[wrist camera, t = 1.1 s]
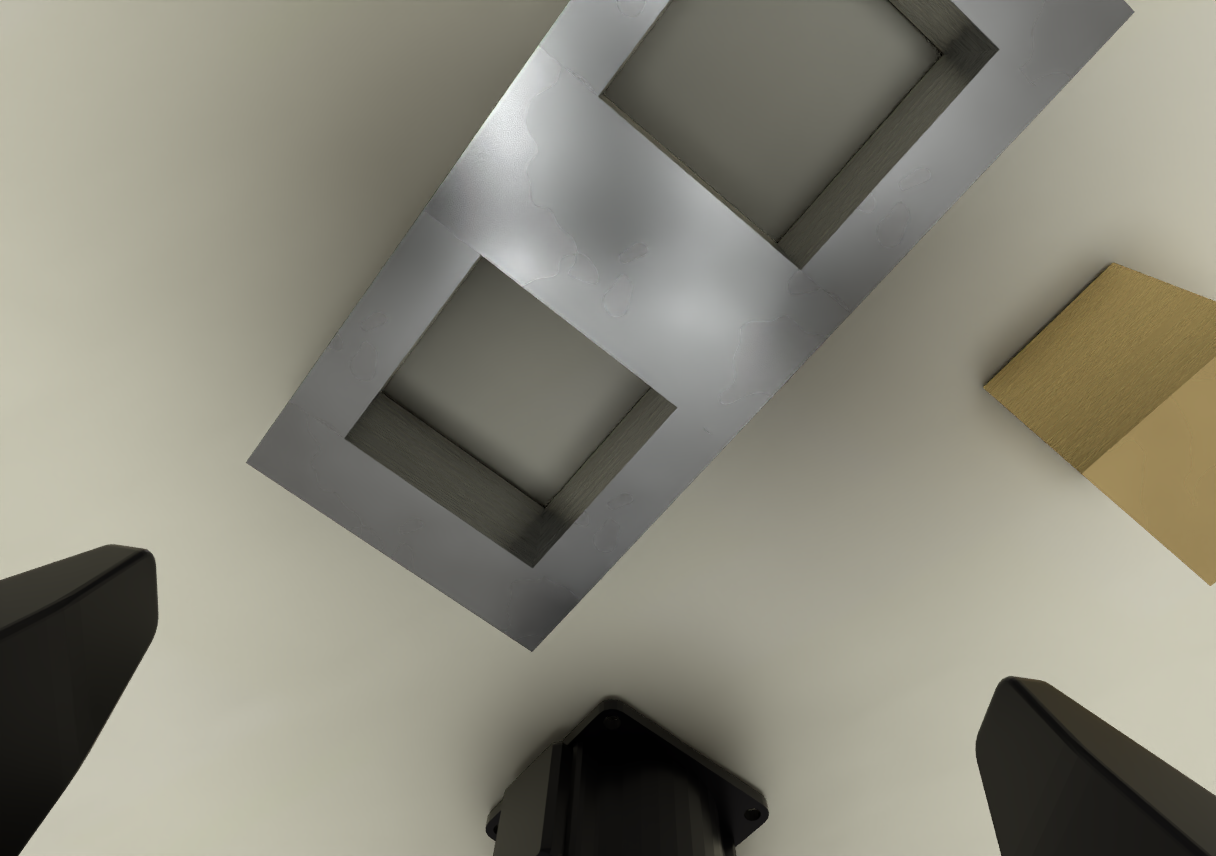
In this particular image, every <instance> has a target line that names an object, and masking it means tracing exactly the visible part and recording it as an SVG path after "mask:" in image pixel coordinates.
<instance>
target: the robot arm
mask: <svg viewBox="0 0 1216 856" xmlns="http://www.w3.org/2000/svg"><path fill="white" fill-rule="evenodd" d="M157 625H158V595H157V575H156V563H155V559H154V556H153V554H152V553H151V552H150V551H148V550H147V549H143V548H136V547H129V546H122V545H116V544H110V545H105V546H102V547H99V548H96V549H93V550H90V551H87V552H84V553H81V554H78V555H75V556H72V557H69V558H66V559H63V560H60V561H57V562H54V563H51V564H48V565H45V566H41V567H38V568H35V569H32V570H29V571H26V572H23V573H20V574H17V575H14V576H11V577H8V578H5V579H2V580H0V856H18V855H19V854H20V853H21V851H22V850H23V848H24V847H25V846H26V844H27V843H28V841H29V840H30V838H31V837H32V836H33V834H34V833H35V831H36V830H37V829H38V827H39V826H40V824H41V823H42V822H43V820H44V819H45V817H46V816H47V815H48V813H49V812H50V810H51V809H52V808H53V806H54V805H55V803H56V802H57V801H58V799H59V798H60V796H61V795H62V793H63V792H64V791H65V789H66V788H67V786H68V785H69V783H70V782H71V780H72V779H73V777H74V776H75V774H76V773H77V771H78V770H79V769H80V767H81V765H82V764H83V762H84V760H85V759H86V757H87V755H88V754H89V752H90V750H91V749H92V747H93V745H94V744H95V742H96V740H97V738H98V736H99V735H100V733H101V731H102V729H103V728H104V726H105V724H106V722H107V720H108V719H109V717H110V715H111V713H112V712H113V710H114V708H115V706H116V704H117V703H118V701H119V699H120V697H121V696H122V694H123V692H124V690H125V688H126V687H127V685H128V683H129V681H130V680H131V678H132V676H133V674H134V672H135V671H136V669H137V667H138V665H139V664H140V662H141V660H142V658H143V656H144V655H145V653H146V651H147V649H148V648H149V646H150V644H151V642H152V640H153V638H154V635H155V633H156V629H157ZM608 716H616V717H618V719H616V720H610V719H607V718H606V717H608ZM976 758H977V763H978V767H979V771H980V775H981V779H982V783H983V786H984V790H985V794H986V798H987V802H988V806H989V810H990V813H991V817H992V821H993V825H994V829H995V833H996V837H997V840H998V844H999V848H1000V852H1001V856H1216V796H1215V795H1214V794H1212V793H1211V792H1209V791H1208V790H1206V789H1205V788H1203V787H1202V786H1200V785H1199V784H1197V783H1196V782H1194V781H1193V780H1191V779H1190V778H1188V777H1187V776H1185V775H1184V774H1182V773H1181V772H1179V771H1178V770H1176V769H1175V768H1174V767H1172V766H1171V765H1169V764H1168V763H1166V762H1165V761H1163V760H1162V759H1160V758H1159V757H1157V756H1156V755H1154V754H1153V753H1151V752H1150V751H1148V750H1147V749H1145V748H1144V747H1142V746H1141V745H1139V744H1138V743H1136V742H1135V741H1133V740H1132V739H1130V738H1129V737H1127V736H1126V735H1124V734H1123V733H1121V732H1120V731H1118V730H1117V729H1115V728H1114V727H1113V726H1111V725H1110V724H1108V723H1107V722H1105V721H1104V720H1102V719H1101V718H1099V717H1098V716H1096V715H1095V714H1093V713H1092V712H1090V711H1089V710H1087V709H1086V708H1084V707H1083V706H1081V705H1080V704H1078V703H1077V702H1075V701H1074V700H1072V699H1071V698H1069V697H1068V696H1066V695H1065V694H1063V693H1062V692H1060V691H1059V690H1057V689H1056V688H1054V687H1053V686H1052V685H1050V684H1048V683H1047V682H1044V681H1041V680H1035V679H1028V678H1021V677H1014V676H1008V677H1006V678H1004V679H1002V680H1001V681H1000V682H999V684H998V685H997V687H996V689H995V692H994V694H993V697H992V699H991V702H990V704H989V707H988V709H987V712H986V714H985V717H984V719H983V722H982V724H981V727H980V729H979V732H978V735H977V739H976ZM751 808H755V810H750V811H749V810H748V809H751ZM768 816H769V811H768V806H767V802H766V799H765V798H764V797H763V796H762V795H761V794H760V793H758V792H757V791H755V790H754V789H752V788H751V787H749V786H748V785H746V784H745V783H743V782H742V781H740V780H739V779H737V778H736V777H734V776H733V775H731V774H730V773H728V772H727V771H725V770H724V769H722V768H721V767H719V766H718V765H716V764H715V763H713V762H712V761H710V760H709V759H707V758H706V757H704V756H703V755H701V754H700V753H698V752H697V751H695V750H694V749H692V748H691V747H689V746H687V745H686V744H684V743H683V742H681V741H680V740H678V739H677V738H675V737H674V736H672V735H671V734H669V733H668V732H666V731H665V730H663V729H662V728H660V727H659V726H657V725H656V724H654V723H653V722H651V721H650V720H648V719H647V718H645V717H644V716H642V715H641V714H639V713H638V712H636V711H635V710H633V709H632V708H630V707H629V706H627V705H626V704H624V703H623V702H620V701H618V700H607V701H604V702H602V703H601V704H599V705H598V706H597V707H596V708H595V709H594V710H593V711H592V712H591V713H590V714H589V715H588V716H587V717H586V718H585V719H584V720H583V721H582V722H581V723H580V724H579V725H578V726H577V727H576V728H575V729H574V730H573V731H572V732H571V733H570V734H569V735H568V736H567V737H566V738H565V739H564V740H563V741H562V742H561V741H559V742H556V743H553V744H551V745H550V746H549V747H548V748H547V749H546V750H545V751H544V752H543V753H542V754H541V755H540V756H539V757H538V758H537V759H536V760H535V761H534V762H533V763H532V764H531V765H530V766H529V767H528V768H527V769H526V770H525V771H524V772H523V773H522V774H521V775H520V776H519V777H518V778H517V779H516V780H515V781H514V782H513V783H512V784H511V785H510V786H509V787H508V788H507V789H506V790H505V792H504V797H503V800H502V801H501V802H500V803H499V804H498V805H497V806H496V807H495V808H494V809H493V810H492V811H491V812H490V814H489V815H488V818H487V824H486V833H487V835H488V836H489V837H490V838H491V839H493V840H494V841H496V842H495V848H494V853H493V856H736V850H735V847H736V846H737V845H738V844H740V843H741V842H742V841H743V840H744V839H746V838H747V837H748V836H749V835H750V834H752V833H753V832H754V831H755V830H756V829H758V828H759V827H760V826H761V825H762V824H763V823H765V821H766V820H767V819H768Z"/></svg>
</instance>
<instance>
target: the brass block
mask: <svg viewBox="0 0 1216 856" xmlns="http://www.w3.org/2000/svg"><path fill="white" fill-rule="evenodd" d="M983 388H984V389H985V390H986V391H988V392H989V393H990V394H991V395H992V396H993V397H994V398H996V399H997V400H998V401H999V402H1000V403H1001V404H1002V405H1003V406H1005V407H1006V408H1007V409H1008V410H1009V411H1010V412H1011V413H1013V414H1014V415H1015V416H1016V417H1017V418H1018V419H1019V420H1021V421H1022V422H1023V423H1024V424H1025V425H1026V426H1027V427H1029V428H1030V429H1031V430H1032V431H1033V432H1034V433H1035V434H1037V435H1038V436H1039V437H1040V438H1041V439H1042V440H1043V441H1045V442H1046V443H1047V444H1048V445H1049V446H1050V447H1051V448H1053V449H1054V450H1055V451H1056V452H1057V453H1058V454H1059V455H1061V456H1062V457H1063V458H1064V459H1065V460H1066V461H1067V462H1069V463H1070V464H1071V465H1072V466H1073V467H1074V468H1075V469H1077V470H1078V471H1079V472H1080V473H1081V474H1082V475H1083V476H1085V477H1086V478H1087V479H1088V480H1089V481H1090V482H1091V483H1093V484H1094V485H1095V486H1096V487H1097V488H1098V489H1100V490H1101V491H1102V492H1103V493H1104V494H1105V495H1106V496H1108V497H1109V498H1110V499H1111V500H1112V501H1113V502H1114V503H1116V504H1117V505H1118V506H1119V507H1120V508H1121V509H1122V510H1124V511H1125V512H1126V513H1127V514H1128V515H1129V516H1131V517H1132V518H1133V519H1134V520H1135V521H1136V522H1137V523H1139V524H1140V525H1141V526H1142V527H1143V528H1144V529H1145V530H1147V531H1148V532H1149V533H1150V534H1151V535H1152V536H1153V537H1155V538H1156V539H1157V540H1158V541H1159V542H1160V543H1162V544H1163V545H1164V546H1165V547H1166V548H1167V549H1168V550H1170V551H1171V552H1172V553H1173V554H1174V555H1175V556H1176V557H1178V558H1179V559H1180V560H1181V561H1182V562H1183V563H1184V564H1186V565H1187V566H1188V567H1189V568H1190V569H1191V570H1193V571H1194V572H1195V573H1196V574H1197V575H1198V576H1199V577H1201V578H1202V579H1203V580H1204V581H1205V582H1206V583H1207V584H1209V585H1210V586H1211V585H1213V584H1214V583H1215V582H1216V301H1213V300H1211V299H1208V298H1205V297H1203V296H1200V295H1197V294H1195V293H1192V292H1190V291H1187V290H1184V289H1182V288H1179V287H1176V286H1174V285H1171V284H1168V283H1166V282H1163V281H1161V280H1158V279H1155V278H1153V277H1150V276H1147V275H1145V274H1142V273H1140V272H1137V271H1134V270H1132V269H1129V268H1126V267H1124V266H1121V265H1119V264H1116V263H1112V264H1111V265H1110V266H1109V267H1108V268H1107V269H1106V270H1105V271H1104V272H1103V273H1102V274H1101V275H1100V276H1099V277H1098V278H1097V279H1095V280H1094V281H1093V282H1092V283H1091V284H1090V285H1089V286H1088V287H1087V288H1086V289H1085V290H1084V291H1083V292H1082V293H1081V294H1080V295H1079V296H1078V297H1077V298H1076V299H1075V300H1074V301H1073V302H1072V303H1071V304H1069V305H1068V306H1067V307H1066V308H1065V309H1064V310H1063V311H1062V312H1061V313H1060V314H1059V315H1058V316H1057V317H1056V318H1055V319H1054V320H1053V321H1052V322H1051V323H1050V324H1049V325H1048V326H1047V327H1046V328H1044V329H1043V330H1042V331H1041V332H1040V333H1039V334H1038V335H1037V336H1036V337H1035V338H1034V339H1033V340H1032V341H1031V342H1030V343H1029V344H1028V345H1027V346H1026V347H1025V348H1024V349H1023V350H1022V351H1021V352H1020V353H1018V354H1017V355H1016V356H1015V357H1014V358H1013V359H1012V360H1011V361H1010V362H1009V363H1008V364H1007V365H1006V366H1005V367H1004V368H1003V369H1002V370H1001V371H1000V372H999V373H998V374H997V375H996V376H995V377H993V378H992V379H991V380H990V381H989V382H988V383H987V384H986V385H985V386H984V387H983Z"/></svg>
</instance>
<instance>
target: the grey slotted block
mask: <svg viewBox="0 0 1216 856" xmlns="http://www.w3.org/2000/svg"><path fill="white" fill-rule="evenodd" d="M672 1H673V0H570V1H569V2H568V4H567V5H566V7H565V8H564V10H563V11H562V12H561V14H560V15H559V17H558V18H557V20H556V21H555V22H554V24H553V25H552V27H551V28H550V30H549V31H548V32H547V34H546V35H545V37H544V38H543V40H542V41H541V42H540V44H539V45H538V47H537V48H536V50H535V51H534V52H533V54H532V55H531V57H530V58H529V60H528V61H527V62H526V64H525V65H524V67H523V68H522V70H521V71H520V72H519V74H518V75H517V77H516V78H515V80H514V81H513V82H512V84H511V85H510V87H509V88H508V89H507V91H506V92H505V94H504V95H503V97H502V98H501V99H500V101H499V102H498V104H497V105H496V107H495V108H494V109H493V111H492V112H491V114H490V115H489V117H488V118H487V119H486V121H485V122H484V124H483V125H482V127H481V128H480V129H479V131H478V132H477V134H476V135H475V137H474V138H473V139H472V141H471V142H470V144H469V145H468V147H467V148H466V149H465V151H464V152H463V154H462V155H461V157H460V158H459V159H458V161H457V162H456V164H455V165H454V167H453V168H452V169H451V171H450V172H449V174H448V175H447V177H446V178H445V179H444V181H443V182H442V184H441V185H440V187H439V188H438V189H437V191H436V192H435V194H434V195H433V196H432V198H431V199H430V201H429V202H428V204H427V205H426V206H425V208H424V209H423V211H422V212H421V214H420V215H419V216H418V218H417V219H416V221H415V222H414V224H413V225H412V226H411V228H410V229H409V231H408V232H407V234H406V235H405V236H404V238H403V239H402V241H401V242H400V244H399V245H398V246H397V248H396V249H395V251H394V252H393V254H392V255H391V256H390V258H389V259H388V261H387V262H386V264H385V265H384V266H383V268H382V269H381V271H380V272H379V274H378V275H377V276H376V278H375V279H374V281H373V282H372V284H371V285H370V286H369V288H368V289H367V291H366V292H365V293H364V295H363V296H362V298H361V299H360V301H359V302H358V303H357V305H356V306H355V308H354V309H353V311H352V312H351V313H350V315H349V316H348V318H347V319H346V321H345V322H344V323H343V325H342V326H341V328H340V329H339V331H338V332H337V333H336V335H335V336H334V338H333V339H332V341H331V342H330V343H329V345H328V346H327V348H326V349H325V351H324V352H323V353H322V355H321V356H320V358H319V359H318V361H317V362H316V363H315V365H314V366H313V368H312V369H311V371H310V372H309V373H308V375H307V376H306V378H305V379H304V381H303V382H302V383H301V385H300V386H299V388H298V389H297V390H296V392H295V393H294V395H293V396H292V398H291V399H290V400H289V402H288V403H287V405H286V406H285V408H284V409H283V410H282V412H281V413H280V415H279V416H278V418H277V419H276V420H275V422H274V423H273V425H272V426H271V428H270V429H269V430H268V432H267V433H266V435H265V436H264V438H263V439H262V440H261V442H260V443H259V445H258V446H257V448H256V449H255V450H254V452H253V453H252V455H251V456H250V458H249V459H248V460H247V462H246V463H247V464H249V465H250V466H252V467H253V468H255V469H256V470H258V471H259V472H261V473H262V474H264V475H265V476H267V477H268V478H270V479H272V480H273V481H275V482H276V483H278V484H279V485H281V486H282V487H284V488H285V489H287V490H288V491H290V492H291V493H293V494H294V495H296V496H297V497H299V498H300V499H302V500H303V501H305V502H306V503H308V504H309V505H311V506H312V507H314V508H315V509H317V510H318V511H320V512H321V513H323V514H324V515H326V516H327V517H329V518H330V519H332V520H333V521H335V522H336V523H338V524H340V525H341V526H343V527H344V528H346V529H347V530H349V531H350V532H352V533H353V534H355V535H356V536H358V537H359V538H361V539H362V540H364V541H365V542H367V543H368V544H370V545H371V546H373V547H374V548H376V549H377V550H379V551H380V552H382V553H383V554H385V555H386V556H388V557H389V558H391V559H392V560H394V561H395V562H397V563H398V564H400V565H401V566H403V567H404V568H406V569H408V570H409V571H411V572H412V573H414V574H415V575H417V576H418V577H420V578H421V579H423V580H424V581H426V582H427V583H429V584H430V585H432V586H433V587H435V588H436V589H438V590H439V591H441V592H442V593H444V594H445V595H447V596H448V597H450V598H451V599H453V600H454V601H456V602H457V603H459V604H460V605H462V606H463V607H465V608H466V609H468V610H469V611H471V612H473V613H474V614H476V615H477V616H479V617H480V618H482V619H483V620H485V621H486V622H488V623H489V624H491V625H492V626H494V627H495V628H497V629H498V630H500V631H501V632H503V633H504V634H506V635H507V636H509V637H510V638H512V639H513V640H515V641H516V642H518V643H519V644H521V645H522V646H524V647H525V648H527V649H528V650H530V651H531V652H532V651H533V650H534V649H535V648H536V647H537V646H538V645H539V644H540V643H541V642H542V641H543V640H544V639H545V638H546V637H547V635H548V634H549V633H550V632H551V631H552V630H553V629H554V628H555V627H556V626H557V625H558V624H559V623H560V622H561V621H562V620H563V618H564V617H565V616H566V615H567V614H568V613H569V612H570V611H571V610H572V609H573V608H574V607H575V606H576V605H577V604H578V603H579V602H580V600H581V599H582V598H583V597H584V596H585V595H586V594H587V593H588V592H589V591H590V590H591V589H592V588H593V587H594V586H595V585H596V583H597V582H598V581H599V580H600V579H601V578H602V577H603V576H604V575H605V574H606V573H607V572H608V571H609V570H610V569H611V568H612V566H613V565H614V564H615V563H616V562H617V561H618V560H619V559H620V558H621V557H622V556H623V555H624V554H625V553H626V552H627V551H628V549H629V548H630V547H631V546H632V545H633V544H634V543H635V542H636V541H637V540H638V539H639V538H640V537H641V536H642V535H643V534H644V532H645V531H646V530H647V529H648V528H649V527H650V526H651V525H652V524H653V523H654V522H655V521H656V520H657V519H658V518H659V517H660V515H661V514H662V513H663V512H664V511H665V510H666V509H667V508H668V507H669V506H670V505H671V504H672V503H673V502H674V501H675V500H676V498H677V497H678V496H679V495H680V494H681V493H682V492H683V491H684V490H685V489H686V488H687V487H688V486H689V485H690V484H691V483H692V482H693V480H694V479H695V478H696V477H697V476H698V475H699V474H700V473H701V472H702V471H703V470H704V469H705V468H706V467H707V466H708V465H709V463H710V462H711V461H712V460H713V459H714V458H715V457H716V456H717V455H718V454H719V453H720V452H721V451H722V450H723V449H724V448H725V446H726V445H727V444H728V443H729V442H730V441H731V440H732V439H733V438H734V437H735V436H736V435H737V434H738V433H739V432H740V431H741V429H742V428H743V427H744V426H745V425H746V424H747V423H748V422H749V421H750V420H751V419H752V418H753V417H754V416H755V415H756V414H757V412H758V411H759V410H760V409H761V408H762V407H763V406H764V405H765V404H766V403H767V402H768V401H769V400H770V399H771V398H772V397H773V395H774V394H775V393H776V392H777V391H778V390H779V389H780V388H781V387H782V386H783V385H784V384H785V383H786V382H787V381H788V380H789V378H790V377H791V376H792V375H793V374H794V373H795V372H796V371H797V370H798V369H799V368H800V367H801V366H802V365H803V364H804V363H805V362H806V360H807V359H808V358H809V357H810V356H811V355H812V354H813V353H814V352H815V351H816V350H817V349H818V348H819V347H820V346H821V345H822V343H823V342H824V341H825V340H826V339H827V338H828V337H829V336H830V335H831V334H832V333H833V332H834V331H835V330H836V329H837V328H838V326H839V325H840V324H841V323H842V322H843V321H844V320H845V319H846V318H847V317H848V316H849V315H850V314H851V313H852V312H853V311H854V309H855V308H856V307H857V306H858V305H859V304H860V303H861V302H862V301H863V300H864V299H865V298H866V297H867V296H868V295H869V294H870V292H871V291H872V290H873V289H874V288H875V287H876V286H877V285H878V284H879V283H880V282H881V281H882V280H883V279H884V278H885V277H886V275H887V274H888V273H889V272H890V271H891V270H892V269H893V268H894V267H895V266H896V265H897V264H898V263H899V262H900V261H901V260H902V258H903V257H904V256H905V255H906V254H907V253H908V252H909V251H910V250H911V249H912V248H913V247H914V246H915V245H916V244H917V243H918V241H919V240H920V239H921V238H922V237H923V236H924V235H925V234H926V233H927V232H928V231H929V230H930V229H931V228H932V227H933V226H934V225H935V223H936V222H937V221H938V220H939V219H940V218H941V217H942V216H943V215H944V214H945V213H946V212H947V211H948V210H949V209H950V208H951V206H952V205H953V204H954V203H955V202H956V201H957V200H958V199H959V198H960V197H961V196H962V195H963V194H964V193H965V192H966V191H967V189H968V188H969V187H970V186H971V185H972V184H973V183H974V182H975V181H976V180H977V179H978V178H979V177H980V176H981V175H982V174H983V172H984V171H985V170H986V169H987V168H988V167H989V166H990V165H991V164H992V163H993V162H994V161H995V160H996V159H997V158H998V157H999V155H1000V154H1001V153H1002V152H1003V151H1004V150H1005V149H1006V148H1007V147H1008V146H1009V145H1010V144H1011V143H1012V142H1013V141H1014V140H1015V138H1016V137H1017V136H1018V135H1019V134H1020V133H1021V132H1022V131H1023V130H1024V129H1025V128H1026V127H1027V126H1028V125H1029V124H1030V123H1031V121H1032V120H1033V119H1034V118H1035V117H1036V116H1037V115H1038V114H1039V113H1040V112H1041V111H1042V110H1043V109H1044V108H1045V107H1046V106H1047V105H1048V103H1049V102H1050V101H1051V100H1052V99H1053V98H1054V97H1055V96H1056V95H1057V94H1058V93H1059V92H1060V91H1061V90H1062V89H1063V88H1064V86H1065V85H1066V84H1067V83H1068V82H1069V81H1070V80H1071V79H1072V78H1073V77H1074V76H1075V75H1076V74H1077V73H1078V72H1079V71H1080V69H1081V68H1082V67H1083V66H1084V65H1085V64H1086V63H1087V62H1088V61H1089V60H1090V59H1091V58H1092V57H1093V56H1094V55H1095V54H1096V52H1097V51H1098V50H1099V49H1100V48H1101V47H1102V46H1103V45H1104V44H1105V43H1106V42H1107V41H1108V40H1109V39H1110V38H1111V37H1112V35H1113V34H1114V33H1115V32H1116V31H1117V30H1118V29H1119V28H1120V27H1121V26H1122V25H1123V24H1124V23H1125V22H1126V21H1127V20H1128V18H1129V17H1130V16H1131V15H1132V14H1133V13H1134V11H1133V10H1132V9H1131V7H1130V6H1129V5H1128V4H1127V3H1126V2H1125V1H1124V0H889V1H890V2H892V3H893V4H894V5H895V6H896V7H897V8H898V9H899V10H900V11H901V12H902V13H903V14H904V15H905V16H906V17H907V18H908V19H909V20H910V21H911V22H912V23H913V24H914V25H915V26H916V27H917V28H918V29H919V30H920V31H921V32H922V33H923V34H924V35H925V36H926V37H927V38H928V39H929V40H930V41H931V42H932V43H933V44H934V45H935V46H936V47H937V48H938V49H939V50H940V51H941V52H942V53H943V55H942V56H941V57H940V59H939V60H938V61H937V62H936V63H935V64H934V65H933V67H932V68H931V69H930V70H929V71H928V72H927V73H926V75H925V76H924V77H923V78H922V79H921V80H920V81H919V83H918V84H917V85H916V86H915V87H914V88H913V89H912V91H911V92H910V93H909V94H908V95H907V96H906V97H905V99H904V100H903V101H902V102H901V103H900V104H899V105H898V107H897V108H896V109H895V110H894V111H893V112H892V113H891V114H890V116H889V117H888V118H887V119H886V120H885V121H884V122H883V124H882V125H881V126H880V127H879V128H878V129H877V130H876V132H875V133H874V134H873V135H872V136H871V137H870V138H869V140H868V141H867V142H866V143H865V144H864V145H863V146H862V148H861V149H860V150H859V151H858V152H857V153H856V154H855V156H854V157H853V158H852V159H851V160H850V161H849V162H848V164H847V165H846V166H845V167H844V168H843V169H842V170H841V172H840V173H839V174H838V175H837V176H836V177H835V178H834V180H833V181H832V182H831V183H830V184H829V185H828V186H827V187H826V189H825V190H824V191H823V192H822V193H821V194H820V195H819V197H818V198H817V199H816V200H815V201H814V202H813V203H812V205H811V206H810V207H809V208H808V209H807V210H806V211H805V213H804V214H803V215H802V216H801V217H800V218H799V219H798V221H797V222H796V223H795V224H794V225H793V226H792V227H791V229H790V230H789V231H788V232H787V233H786V234H785V235H784V237H783V238H782V239H781V240H780V241H779V242H778V243H776V242H774V241H773V240H772V239H771V238H770V237H769V236H767V235H766V234H765V233H764V232H763V231H762V230H760V229H759V228H758V227H757V226H756V225H755V224H754V223H752V222H751V221H750V220H749V219H748V218H747V217H745V216H744V215H743V214H742V213H741V212H740V211H738V210H737V209H736V208H735V207H734V206H733V205H731V204H730V203H729V202H728V201H727V200H726V199H724V198H723V197H722V196H721V195H720V194H719V193H717V192H716V191H715V190H714V189H713V188H712V187H710V186H709V185H708V184H707V183H706V182H705V181H704V180H702V179H701V178H700V177H699V176H698V175H697V174H695V173H694V172H693V171H692V170H691V169H690V168H688V167H687V166H686V165H685V164H684V163H683V162H681V161H680V160H679V159H678V158H677V157H676V156H674V155H673V154H672V153H671V152H670V151H669V150H667V149H666V148H665V147H664V146H663V145H662V144H660V143H659V142H658V141H657V140H656V139H655V138H653V137H652V136H651V135H650V134H649V133H648V132H647V131H645V130H644V129H643V128H642V127H641V126H640V125H638V124H637V123H636V122H635V121H634V120H633V119H631V118H630V117H629V116H628V115H627V114H626V113H624V112H623V111H622V110H621V109H620V108H619V107H617V106H616V105H615V104H614V103H613V102H612V101H610V100H609V99H608V98H607V97H606V96H605V95H603V93H604V92H605V91H606V89H607V88H608V87H609V85H610V84H611V83H612V81H613V80H614V79H615V77H616V76H617V75H618V73H619V72H620V70H621V69H622V68H623V66H624V65H625V64H626V62H627V61H628V60H629V58H630V57H631V56H632V54H633V53H634V52H635V50H636V49H637V48H638V46H639V45H640V44H641V42H642V41H643V40H644V38H645V37H646V36H647V34H648V33H649V31H650V30H651V29H652V27H653V26H654V25H655V23H656V22H657V21H658V19H659V18H660V17H661V15H662V14H663V13H664V11H665V10H666V9H667V7H668V6H669V5H670V3H671V2H672ZM482 256H483V257H484V258H486V259H487V260H488V261H489V262H491V263H492V264H493V265H495V266H496V267H497V268H498V269H500V270H501V271H502V272H504V273H505V274H506V275H508V276H509V277H510V278H511V279H513V280H514V281H515V282H517V283H518V284H519V285H520V286H522V287H523V288H524V289H526V290H527V291H528V292H529V293H531V294H532V295H533V296H535V297H536V298H537V299H538V300H540V301H541V302H542V303H544V304H545V305H546V306H547V307H549V308H550V309H551V310H553V311H554V312H555V313H556V314H558V315H559V316H560V317H562V318H563V319H564V320H565V321H567V322H568V323H569V324H571V325H572V326H573V327H575V328H576V329H577V330H578V331H580V332H581V333H582V334H584V335H585V336H586V337H587V338H589V339H590V340H591V341H593V342H594V343H595V344H596V345H598V346H599V347H600V348H602V349H603V350H604V351H605V352H607V353H608V354H609V355H611V356H612V357H613V358H614V359H616V360H617V361H618V362H620V363H621V364H622V365H623V366H625V367H626V368H627V369H629V370H630V371H631V372H632V373H634V374H635V375H636V376H638V377H639V378H640V379H642V380H643V381H644V382H645V383H647V384H648V385H649V386H651V388H650V389H649V390H648V392H647V393H646V394H645V395H644V396H643V397H642V398H641V400H640V401H639V402H638V403H637V404H636V405H635V406H634V408H633V409H632V410H631V411H630V412H629V413H628V414H627V416H626V417H625V418H624V419H623V420H622V421H621V422H620V424H619V425H618V426H617V427H616V428H615V429H614V430H613V432H612V433H611V434H610V435H609V436H608V437H607V438H606V440H605V441H604V442H603V443H602V444H601V445H600V446H599V448H598V449H597V450H596V451H595V452H594V453H593V454H592V455H591V457H590V458H589V459H588V460H587V461H586V462H585V463H584V465H583V466H582V467H581V468H580V469H579V470H578V471H577V473H576V474H575V475H574V476H573V477H572V478H571V479H570V481H569V482H568V483H567V484H566V485H565V486H564V487H563V489H562V490H561V491H560V492H559V493H558V494H557V495H556V497H555V498H554V499H553V500H552V501H551V502H550V503H549V505H548V506H547V507H546V508H543V507H542V506H540V505H539V504H538V503H536V502H535V501H533V500H532V499H531V498H529V497H528V496H526V495H525V494H523V493H522V492H521V491H519V490H518V489H516V488H515V487H514V486H512V485H511V484H509V483H508V482H507V481H505V480H504V479H502V478H501V477H500V476H498V475H497V474H495V473H494V472H493V471H491V470H490V469H488V468H487V467H485V466H484V465H483V464H481V463H480V462H478V461H477V460H476V459H474V458H473V457H471V456H470V455H469V454H467V453H466V452H464V451H463V450H462V449H460V448H459V447H457V446H456V445H455V444H453V443H452V442H450V441H449V440H447V439H446V438H445V437H443V436H442V435H440V434H439V433H438V432H436V431H435V430H433V429H432V428H431V427H429V426H428V425H426V424H425V423H424V422H422V421H421V420H419V419H418V418H417V417H415V416H414V415H412V414H411V413H409V412H408V411H407V410H405V409H404V408H402V407H401V406H400V405H398V404H397V403H395V402H394V401H393V400H391V399H390V398H388V397H387V396H386V395H384V394H383V393H381V392H382V390H383V389H384V388H385V386H386V385H387V384H388V382H389V381H390V380H391V378H392V377H393V376H394V374H395V373H396V372H397V370H398V369H399V368H400V366H401V365H402V364H403V362H404V361H405V359H406V358H407V357H408V355H409V354H410V353H411V351H412V350H413V349H414V347H415V346H416V345H417V343H418V342H419V341H420V339H421V338H422V337H423V335H424V334H425V333H426V331H427V330H428V329H429V327H430V326H431V325H432V323H433V322H434V321H435V319H436V318H437V316H438V315H439V314H440V312H441V311H442V310H443V308H444V307H445V306H446V304H447V303H448V302H449V300H450V299H451V298H452V296H453V295H454V294H455V292H456V291H457V290H458V288H459V287H460V286H461V284H462V283H463V282H464V280H465V279H466V277H467V276H468V275H469V273H470V272H471V271H472V269H473V268H474V267H475V265H476V264H477V263H478V261H479V260H480V259H481V257H482Z"/></svg>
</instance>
